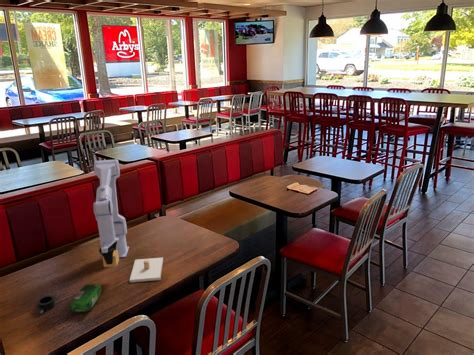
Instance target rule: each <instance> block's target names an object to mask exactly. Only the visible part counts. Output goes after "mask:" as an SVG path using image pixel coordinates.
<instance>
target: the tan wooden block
mask: <svg viewBox="0 0 474 355" xmlns="http://www.w3.org/2000/svg"><path fill="white" fill-rule="evenodd" d="M119 261H120V257H119V255H118V250H114V252H113V263H112V264H108V265H107V264H106V261H105V259H104V257H103V256H102V262H103V263H102V264H103V268H109V267H110V268H111V267H117V266H118V265H119V264H118V263H119Z"/></svg>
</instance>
